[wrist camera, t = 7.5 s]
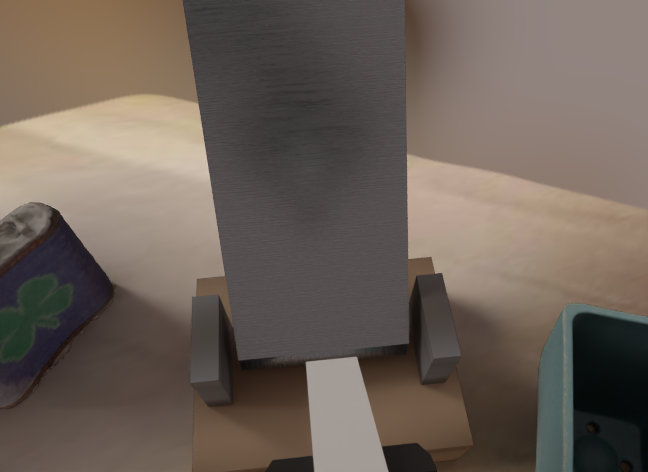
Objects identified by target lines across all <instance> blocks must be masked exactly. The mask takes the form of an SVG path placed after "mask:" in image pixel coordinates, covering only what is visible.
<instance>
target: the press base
mask: <svg viewBox="0 0 648 472" xmlns="http://www.w3.org/2000/svg"><path fill="white" fill-rule="evenodd" d="M408 294H409V344H407V354H406V355H399V356H389V357H379V358H369V359H359V360H358V363H359V366H360V370H361V374H362V377H363V381H364V385H365V388H366V392H367V396H368V399H369V403H370V407H371V410H372V414H373V417H374V421H375V425H376V428H377V432H378V436H379V439H380V443H381V447H382V446H391V445H400V444H409V443H418V444H419V445H420V446H421V447H422V448H424V449H425V450H426V451H427V452H428V453H429V454H430V455H431V457H432V459H433V462H439V461H448V460H457V459H458V458H459V457H461V456H462V455H463V454H464V453H465V452H466V451H467V450H468V449H470V448H471V447H472V446H473V445H474V444H473V440H472V436H471V431H470V427H469V422H468V418H467V413H466V409H465V405H464V400H463V396H462V391H461V387H460V382H459V378H458V374H457V369H456V364H457V362H458V360H459V359H460V357H461V353H460V348H459V344H458V340H457V335H456V331H455V327H454V323H453V318H452V314H451V310H450V305H449V301H448V297H447V293H446V288H445V284H444V280H443V275H442V273H438V274H435V272H434V267H433V263H432V258H431V257H427V258H416V259H408ZM190 384H191V385H192V386H193V388H194V424H193V467H192V472H265V471H266V470H267V468H268V466H269V465H270V463H271V461H272V460H278V459H287V458H296V457H305V456H313V448H312V436H311V423H310V410H309V397H308V384H307V371H306V365H299V366H289V367H279V368H269V369H259V370H249V371H242V368H241V362H240V360H239V361H238V354H237V348H236V341H235V335H234V329H233V322H232V316H231V309H230V303H229V296H228V290H227V283H226V277H225V276H224V277H213V278H203V279H197V296H196V297H192V328H191V365H190Z"/></svg>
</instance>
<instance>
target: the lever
mask: <svg viewBox="0 0 648 472" xmlns="http://www.w3.org/2000/svg"><path fill="white" fill-rule="evenodd" d="M183 5H184V11H185V18H186V24H187V31H188V38H189V44H190V51H191V57H192V63H193V70H194V76H195V83H196V89H197V96H198V102H199V109H200V115H201V122H202V128H203V135H204V141H205V148H206V154H207V160H208V167H209V173H210V180H211V186H212V193H213V199H214V206H215V212H216V219H217V225H218V232H219V238H220V245H221V251H222V257H223V264H224V270H225V277H226V283H227V290H228V296H229V303H230V309H231V316H232V322H233V329H234V335H235V341H236V348H237V354H238V361H239V360H240V362H241V368H242V371H249V370H259V369H269V368H279V367H289V366H299V365H306V362H309V361H319V360H329V359H338V358H348V357H357V359H358V360H359V359H369V358H379V357H389V356H399V355H406V354H407V344H409V294H408V218H407V143H406V70H405V69H406V68H405V67H406V66H405V0H183Z"/></svg>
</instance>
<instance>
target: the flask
mask: <svg viewBox="0 0 648 472" xmlns="http://www.w3.org/2000/svg"><path fill="white" fill-rule="evenodd" d="M114 288H115V286H114V285H112V284H111V282H110V280H109V278H108V276H107V275H106V273H105V272H104V271H103V270H102V268H101V267H100V266H99V264H98V263H97V262H96V261H95V259H94V258H93V256H92V255H91V254H90V253H89V252H88V251H87V249H86V248H85V247H84V246H83V244H82V242H81V241H80V240H79V239H78V237H77V236H76V235H75V233H74V232H73V230H72V229H71V228H70V226H69V225H68V224H67V223H66V222H65V221H64V219H63V217H62V215H61V214H60V212H59V211H58V210H56V209H54V208H52V207H51V206H48V205H45V204H43V203H31V202H30V203H28V204H25V205H23V206H20V207H18V208H17V209H15V210H14V211H12V212H11V213H10V214H8V215H7V216H6V217H5V218H3V219H2V220H0V408H6V409H9V408H11V407H13V406H15V405H16V404H18V403H19V402H21V401H22V400H24V399H25V398H26V397H27V396H28V395H29V394H31V393H32V392H33V391H35V389H36V388H37V387H38V384H37V382H38V381H39V380H40V379H41V378H42V377H43V376H44V374H46V373H47V371H48V370H50V369H51V367H52V366H55V365H56V364H57V363H58V362H59V360H61V359H63V358H64V355H65V354H66V353H67V352H68V351H69V348H70V345H71V343H72V341H73V339H74V338H75V337H76V336H77V335H78V334H83V331H84V330H85V328H86V325H87V324H88V323H89V322H90V321H92V320H94V319H95V318H96V319H97V318H98V316H99V314H100V313H101V312H102V311H103V310H105V308H106V307H107V306H108V305H109V304H111V303H112V301H113V297H114Z"/></svg>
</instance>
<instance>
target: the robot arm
mask: <svg viewBox="0 0 648 472" xmlns="http://www.w3.org/2000/svg"><path fill="white" fill-rule="evenodd" d="M306 371H307V384H308V397H309V410H310V423H311V436H312V448H313V456H305V457H296V458H287V459H278V460H272V461H271V463H270V465H269V466H268V468H267V470H266V471H265V472H437V469H436V467H435V464H434V462H433V459H432V457H431V455H430V454H429V453H428V452H427V451H426V450H425V449H424V448H422V447H421V446H420V445H419V444H418V443H409V444H400V445H391V446H382V447H381V443H380V439H379V436H378V432H377V428H376V425H375V421H374V417H373V414H372V410H371V407H370V403H369V399H368V396H367V392H366V388H365V385H364V381H363V377H362V374H361V370H360V366H359V363H358V359H357V357H348V358H338V359H329V360H319V361H309V362H306Z"/></svg>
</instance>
